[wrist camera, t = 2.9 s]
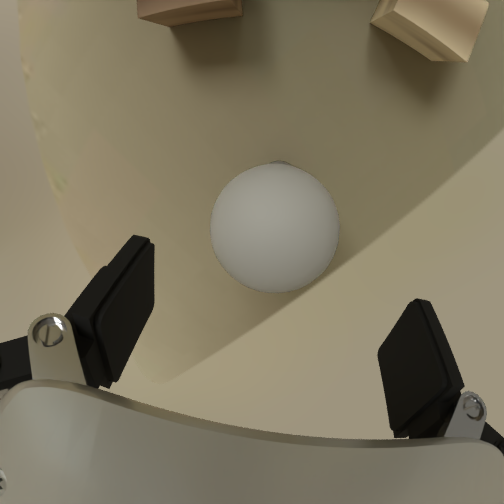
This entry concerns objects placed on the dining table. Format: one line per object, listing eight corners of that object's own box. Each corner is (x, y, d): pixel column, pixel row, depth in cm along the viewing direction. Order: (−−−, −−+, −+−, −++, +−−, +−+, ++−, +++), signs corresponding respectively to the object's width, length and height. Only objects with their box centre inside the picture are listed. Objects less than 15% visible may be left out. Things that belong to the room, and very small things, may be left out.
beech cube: (392, -28, 12) (419, -49, 8) (452, 11, 12) (489, 3, 8) (369, 23, 14) (393, 10, 10) (430, 61, 15) (467, 62, 11)
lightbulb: (229, 138, 20) (177, 202, 11) (319, 129, 19) (349, 186, 10) (244, 216, 23) (213, 322, 14) (324, 210, 22) (346, 316, 13)
